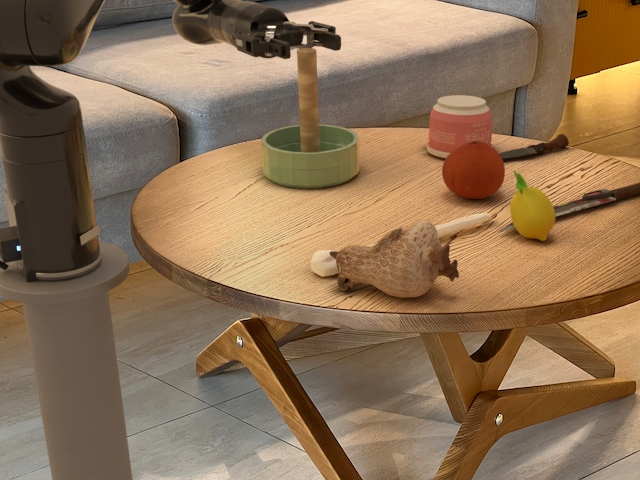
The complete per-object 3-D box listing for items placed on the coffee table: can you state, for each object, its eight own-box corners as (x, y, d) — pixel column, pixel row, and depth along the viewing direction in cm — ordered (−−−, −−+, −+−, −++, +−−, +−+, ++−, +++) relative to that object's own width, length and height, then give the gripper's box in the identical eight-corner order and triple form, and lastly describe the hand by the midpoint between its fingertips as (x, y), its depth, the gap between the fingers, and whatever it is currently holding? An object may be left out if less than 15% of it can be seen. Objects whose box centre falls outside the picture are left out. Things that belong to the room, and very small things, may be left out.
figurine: (456, 317, 125) (341, 306, 132) (475, 243, 129) (362, 236, 135) (431, 282, 118) (310, 272, 124) (451, 204, 121) (332, 199, 128)
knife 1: (563, 132, 176) (578, 138, 172) (563, 145, 177) (578, 151, 173) (468, 146, 172) (481, 153, 167) (469, 159, 172) (481, 166, 168)
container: (418, 104, 168) (417, 155, 171) (484, 111, 164) (482, 162, 168) (439, 90, 177) (438, 139, 180) (502, 96, 174) (500, 145, 177)
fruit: (450, 183, 161) (451, 130, 157) (509, 189, 158) (511, 135, 155) (433, 203, 153) (434, 148, 150) (495, 210, 151) (498, 154, 147)
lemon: (547, 235, 136) (517, 162, 137) (513, 252, 140) (483, 181, 141) (575, 228, 141) (546, 158, 142) (541, 245, 145) (512, 176, 146)
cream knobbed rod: (475, 215, 148) (474, 195, 147) (496, 222, 145) (495, 202, 144) (304, 271, 133) (302, 249, 132) (323, 280, 130) (321, 258, 129)
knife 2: (497, 239, 141) (659, 192, 157) (497, 226, 141) (659, 179, 156) (483, 234, 144) (644, 188, 159) (483, 221, 143) (645, 175, 158)
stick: (303, 176, 162) (298, 55, 154) (291, 167, 165) (286, 48, 158) (330, 171, 164) (327, 51, 156) (318, 163, 167) (314, 45, 159)
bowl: (286, 196, 156) (284, 159, 154) (249, 167, 167) (246, 132, 165) (375, 179, 162) (375, 144, 160) (333, 152, 174) (333, 119, 171)
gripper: (211, 9, 161) (269, 27, 149) (293, -2, 169) (354, 14, 157) (215, 59, 164) (272, 81, 153) (295, 46, 172) (355, 66, 160)
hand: (314, 47), depth 155 cm, fingers open, 8 cm apart
